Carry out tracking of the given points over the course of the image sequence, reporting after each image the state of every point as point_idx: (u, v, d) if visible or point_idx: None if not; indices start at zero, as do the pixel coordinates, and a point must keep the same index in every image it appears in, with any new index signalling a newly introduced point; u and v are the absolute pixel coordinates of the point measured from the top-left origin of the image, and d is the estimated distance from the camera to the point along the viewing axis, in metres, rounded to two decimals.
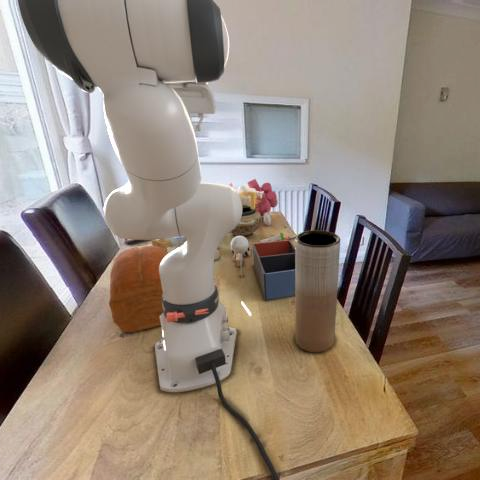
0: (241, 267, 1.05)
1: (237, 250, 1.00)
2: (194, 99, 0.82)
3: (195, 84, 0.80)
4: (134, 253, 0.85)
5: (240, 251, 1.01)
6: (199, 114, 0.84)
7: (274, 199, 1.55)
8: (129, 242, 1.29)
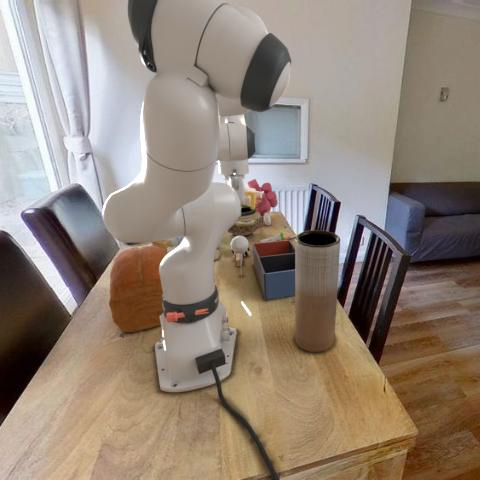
0: (241, 267, 1.05)
1: (237, 250, 1.00)
2: None
3: None
4: (134, 253, 0.85)
5: (240, 251, 1.01)
6: None
7: (274, 199, 1.55)
8: None
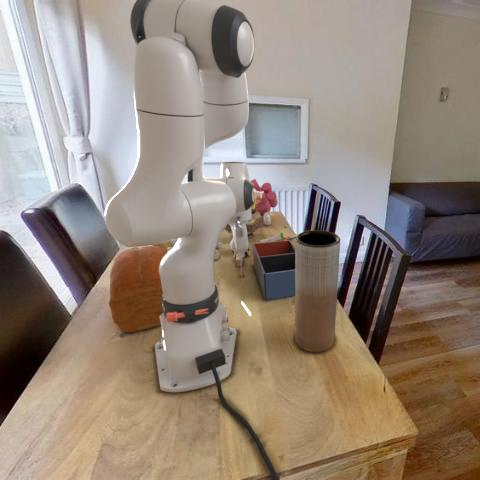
0: (241, 267, 1.05)
1: None
2: None
3: None
4: (134, 253, 0.85)
5: None
6: None
7: (274, 199, 1.55)
8: None
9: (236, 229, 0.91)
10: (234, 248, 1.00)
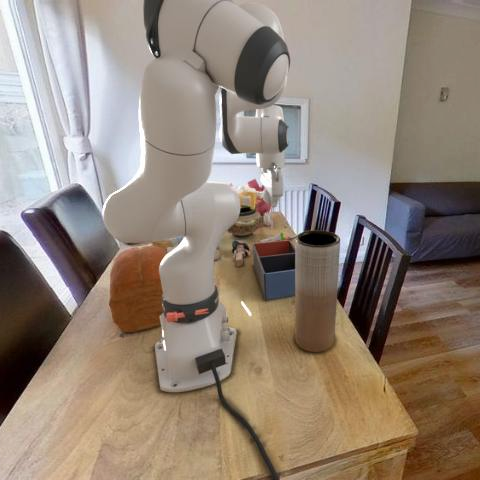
0: (272, 220, 1.04)
1: (269, 200, 0.98)
2: None
3: None
4: (134, 253, 0.85)
5: None
6: None
7: None
8: None
9: (272, 173, 0.89)
10: (266, 197, 0.98)
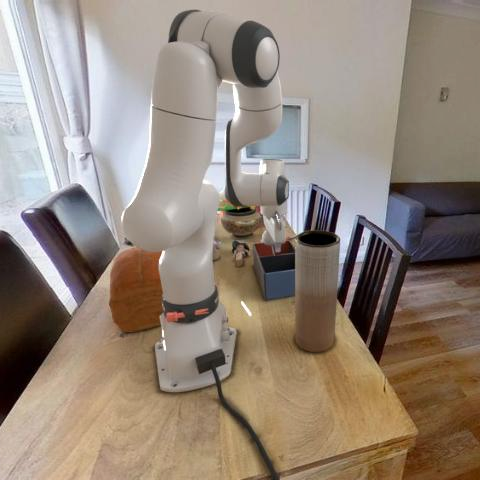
0: None
1: (269, 242, 1.05)
2: None
3: None
4: (134, 253, 0.85)
5: (272, 243, 1.06)
6: None
7: None
8: (129, 242, 1.29)
9: (275, 223, 0.96)
10: (266, 241, 1.05)
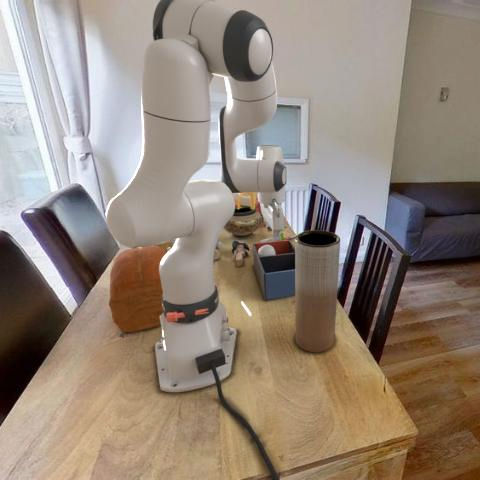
0: None
1: None
2: None
3: None
4: (134, 253, 0.85)
5: None
6: None
7: None
8: None
9: (273, 210, 0.94)
10: None
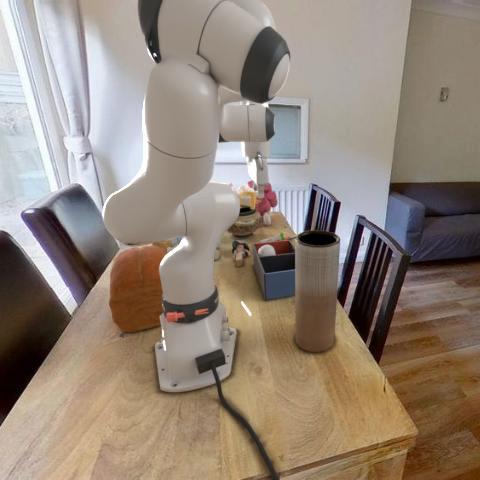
0: None
1: None
2: None
3: None
4: (134, 253, 0.85)
5: None
6: None
7: (274, 199, 1.55)
8: None
9: (257, 162, 0.89)
10: None
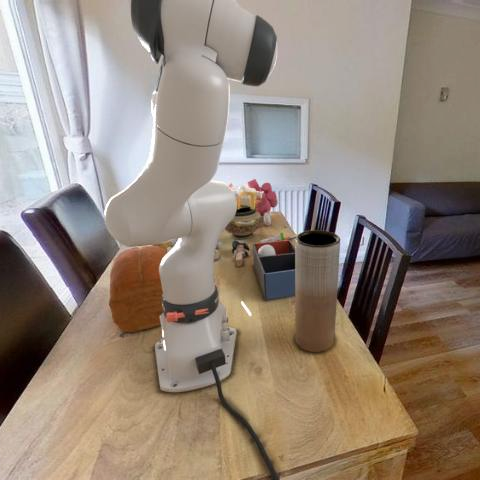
0: None
1: None
2: None
3: None
4: (134, 253, 0.85)
5: None
6: None
7: (274, 199, 1.55)
8: None
9: None
10: None
